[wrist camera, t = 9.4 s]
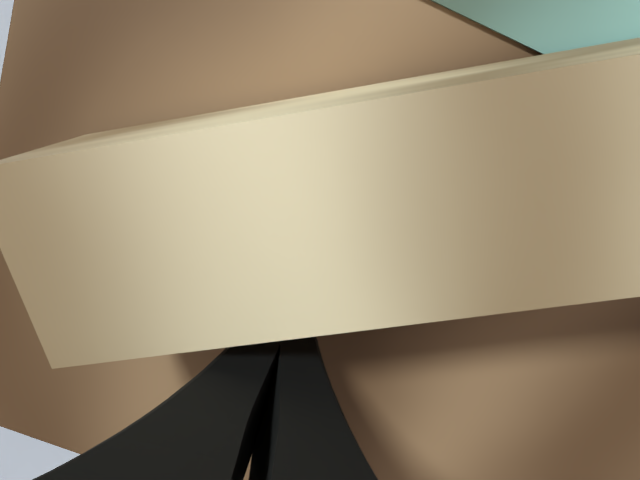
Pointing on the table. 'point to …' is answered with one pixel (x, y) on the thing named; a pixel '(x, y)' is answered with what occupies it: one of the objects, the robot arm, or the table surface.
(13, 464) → the table surface
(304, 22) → the stool board
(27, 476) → the table surface
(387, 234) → the leg
